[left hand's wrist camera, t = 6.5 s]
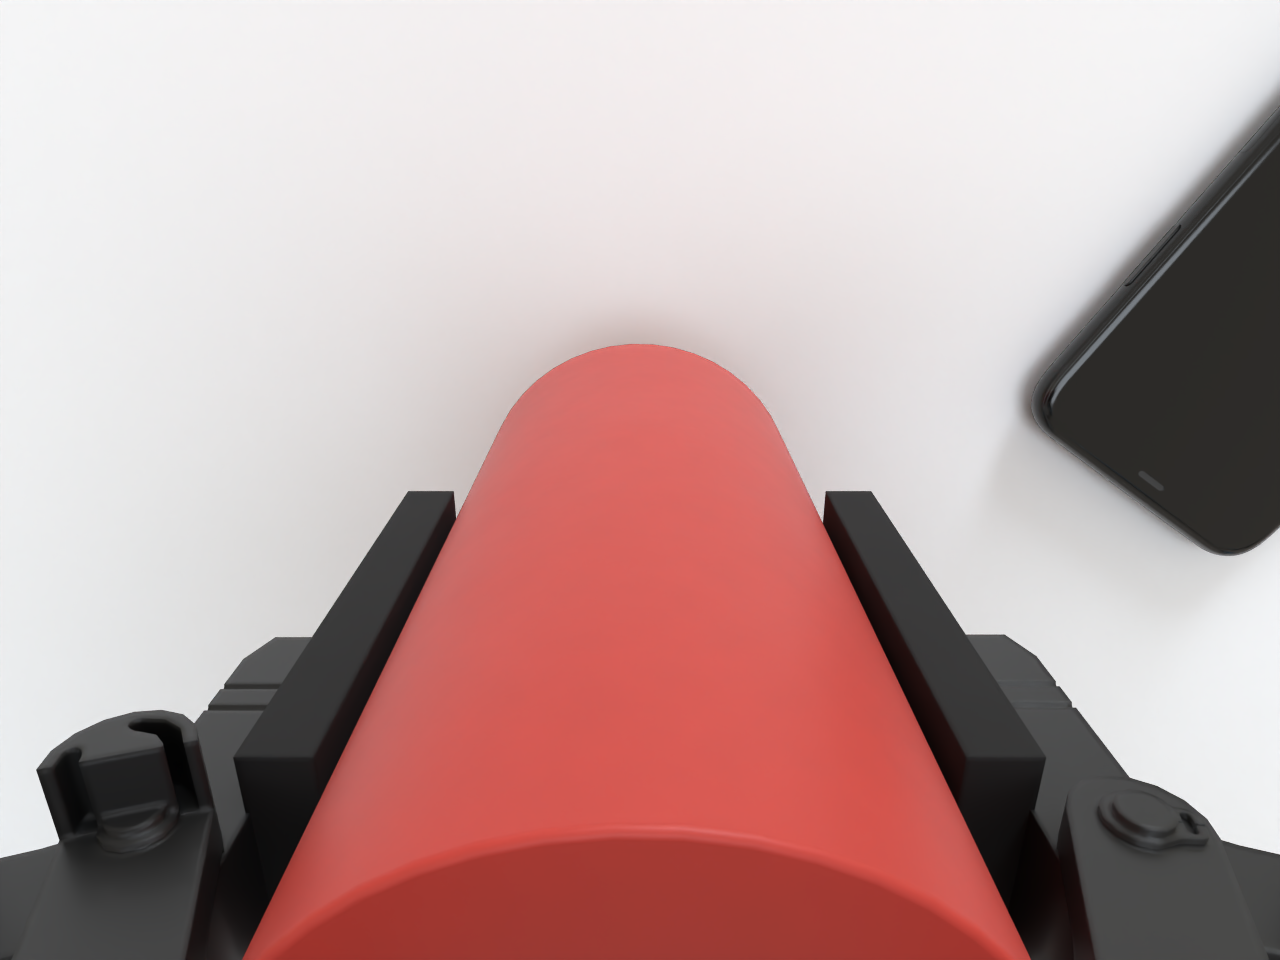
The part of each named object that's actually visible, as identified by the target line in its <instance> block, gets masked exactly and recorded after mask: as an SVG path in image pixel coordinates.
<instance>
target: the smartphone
mask: <svg viewBox="0 0 1280 960" xmlns="http://www.w3.org/2000/svg"><path fill="white" fill-rule="evenodd" d="M1031 408H1032V413H1033V417H1034V419H1035V421H1036V423H1037V424H1038V425H1039V427H1040V428H1041V429H1042V430H1043V431H1044V432H1045V433H1046V434H1047V435H1048V436H1050V437H1051V438H1052V439H1053V440H1055V441H1056V442H1057V443H1059V444H1060V445H1061V446H1063V447H1064V448H1065V449H1067V450H1068V451H1069V452H1071V453H1072V454H1073V455H1075V456H1076V457H1077V458H1079V459H1080V460H1081V461H1083V462H1084V463H1086V464H1087V465H1088V466H1090V467H1091V468H1092V469H1094V470H1095V471H1096V472H1098V473H1099V474H1100V475H1102V476H1103V477H1104V478H1106V479H1107V480H1108V481H1110V482H1111V483H1113V484H1114V485H1115V486H1117V487H1118V488H1119V489H1121V490H1122V491H1123V492H1125V493H1126V494H1127V495H1129V496H1130V497H1132V498H1133V499H1134V500H1136V501H1137V502H1138V503H1140V504H1141V505H1142V506H1144V507H1145V508H1146V509H1148V510H1149V511H1151V512H1152V513H1153V514H1155V515H1156V516H1157V517H1159V518H1160V519H1161V520H1163V521H1164V522H1166V523H1167V524H1168V525H1170V526H1171V527H1172V528H1174V529H1175V530H1176V531H1178V532H1179V533H1181V534H1182V535H1183V536H1185V537H1186V538H1188V539H1189V540H1190V541H1192V542H1193V543H1194V544H1196V545H1197V546H1199V547H1200V548H1202V549H1204V550H1205V551H1208V552H1210V553H1213V554H1216V555H1221V556H1234V555H1239V554H1243V553H1245V552H1248V551H1250V550H1252V549H1254V548H1255V547H1257V546H1258V545H1260V544H1261V543H1262V542H1264V541H1265V540H1266V539H1267V538H1269V537H1270V536H1271V535H1272V534H1273V533H1274V532H1275V531H1276V530H1277V529H1278V528H1279V527H1280V106H1279V107H1278V108H1277V110H1276V111H1275V112H1274V113H1273V114H1272V115H1271V116H1270V118H1269V119H1268V120H1267V121H1266V122H1265V123H1264V124H1263V125H1262V127H1261V128H1260V129H1259V130H1258V131H1257V132H1256V133H1255V135H1254V136H1253V137H1252V138H1251V139H1250V140H1249V141H1248V142H1247V144H1246V145H1245V146H1244V147H1243V148H1242V149H1241V150H1240V152H1239V153H1238V154H1237V155H1236V156H1235V157H1234V158H1233V159H1232V161H1231V162H1230V163H1229V164H1228V165H1227V166H1226V167H1225V169H1224V170H1223V171H1222V172H1221V173H1220V174H1219V175H1218V176H1217V178H1216V179H1215V180H1214V181H1213V182H1212V183H1211V184H1210V186H1209V187H1208V188H1207V189H1206V190H1205V191H1204V192H1203V193H1202V195H1201V196H1200V197H1199V198H1198V199H1197V200H1196V201H1195V203H1194V204H1193V205H1192V206H1191V207H1190V208H1189V209H1188V210H1187V212H1186V213H1185V214H1184V215H1183V216H1182V217H1181V218H1180V220H1179V221H1178V222H1177V223H1176V224H1175V225H1174V226H1173V227H1172V228H1171V229H1170V230H1169V232H1168V233H1167V234H1166V235H1165V236H1164V237H1163V238H1162V239H1161V241H1160V242H1159V243H1158V244H1157V245H1156V246H1155V247H1154V249H1153V250H1152V251H1151V252H1150V253H1149V254H1148V255H1147V256H1146V258H1145V259H1144V260H1143V261H1142V262H1141V263H1140V264H1139V266H1138V267H1137V268H1136V269H1135V270H1134V271H1133V272H1132V273H1131V275H1130V276H1129V277H1128V278H1127V279H1126V280H1125V282H1124V283H1123V284H1122V285H1121V286H1120V288H1119V289H1118V290H1117V291H1116V292H1115V293H1114V294H1113V296H1112V297H1111V298H1110V299H1109V300H1108V301H1107V302H1106V303H1105V305H1104V306H1103V307H1102V308H1101V309H1100V310H1099V311H1098V313H1097V314H1096V315H1095V316H1094V317H1093V318H1092V319H1091V320H1090V322H1089V323H1088V324H1087V325H1086V326H1085V327H1084V328H1083V330H1082V331H1081V332H1080V333H1079V334H1078V335H1077V336H1076V337H1075V339H1074V340H1073V341H1072V342H1071V343H1070V344H1069V345H1068V347H1067V348H1066V349H1065V350H1064V351H1063V352H1062V353H1061V354H1060V356H1059V357H1058V358H1057V359H1056V360H1055V361H1054V362H1053V364H1052V365H1051V366H1050V367H1049V368H1048V369H1047V371H1046V372H1045V373H1044V375H1043V376H1042V377H1041V379H1040V380H1039V382H1038V384H1037V385H1036V387H1035V390H1034V392H1033V396H1032V401H1031Z"/></svg>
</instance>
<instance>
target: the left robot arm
mask: <svg viewBox="0 0 1280 960" xmlns="http://www.w3.org/2000/svg"><path fill="white" fill-rule="evenodd" d="M455 520H456V512H455V501H454V491H408V493H407V494H406V496H405V497H404V499H403V500H402V502H401V503H400V505H399V506H398V508H397V509H396V511H395V512H394V514H393V515H392V517H391V518H390V520H389V521H388V523H387V524H386V526H385V527H384V529H383V530H382V532H381V533H380V535H379V537H378V538H377V540H376V541H375V543H374V544H373V546H372V547H371V549H370V550H369V552H368V553H367V555H366V556H365V558H364V559H363V561H362V562H361V564H360V565H359V567H358V568H357V570H356V571H355V573H354V574H353V576H352V577H351V579H350V581H349V582H348V584H347V585H346V587H345V588H344V590H343V591H342V593H341V594H340V596H339V597H338V599H337V600H336V602H335V603H334V605H333V606H332V608H331V609H330V611H329V612H328V614H327V615H326V617H325V618H324V620H323V621H322V623H321V625H320V626H319V628H318V629H317V631H316V632H315V634H314V635H313V637H275V638H274V639H272V640H271V641H269V642H268V643H266V644H265V645H263V646H262V647H261V648H259V649H258V650H256V651H255V652H253V653H252V654H250V655H249V656H247V657H246V658H244V659H243V660H242V662H241V663H240V664H239V666H238V667H237V668H236V670H235V671H234V672H233V674H232V675H231V676H230V678H229V679H228V680H227V681H226V683H225V684H224V689H220V691H219V692H218V693H217V695H216V696H215V697H214V698H213V700H212V701H211V702H210V704H209V705H208V711H204V712H203V713H202V714H201V715H200V717H199V718H198V719H197V721H196V722H195V723H193V722H192V721H191V720H189V719H188V718H187V717H186V716H184V715H183V714H179V713H174V712H169V711H164V710H155V711H141V712H132V713H129V714H125V715H121V716H117V717H114V718H110V719H106V720H103V721H101V722H99V723H97V724H95V725H92V726H90V727H88V728H86V729H84V730H82V731H79V732H77V733H75V734H74V735H72V736H71V737H70V738H68V739H67V740H65V741H64V742H63V743H61V744H60V745H59V746H57V747H56V748H54V749H53V750H52V751H51V752H50V753H49V754H48V755H47V757H46V758H45V759H44V761H43V762H42V763H41V764H40V766H39V767H38V768H37V769H36V771H37V774H38V777H39V780H40V783H41V786H42V789H43V792H44V795H45V798H46V801H47V804H48V807H49V810H50V813H51V816H52V819H53V822H54V825H55V828H56V831H57V834H58V837H59V840H60V841H59V843H58V844H56V845H53V846H49V847H46V848H43V849H39V850H34V851H30V852H25V853H21V854H17V855H12V856H8V857H4V858H0V960H242V959H243V957H244V955H245V953H246V951H247V949H248V946H249V944H250V942H251V940H252V938H253V936H254V934H255V932H256V930H257V928H258V926H259V924H260V922H261V920H262V918H263V916H264V914H265V911H266V909H267V907H268V905H269V903H270V901H271V899H272V897H273V895H274V893H275V891H276V889H277V887H278V885H279V883H280V881H281V879H282V876H283V874H284V872H285V870H286V868H287V866H288V864H289V862H290V860H291V858H292V856H293V854H294V852H295V850H296V848H297V846H298V844H299V842H300V839H301V837H302V835H303V833H304V831H305V829H306V827H307V825H308V823H309V821H310V819H311V817H312V815H313V813H314V811H315V809H316V807H317V804H318V802H319V800H320V798H321V796H322V794H323V792H324V790H325V788H326V786H327V784H328V782H329V780H330V778H331V776H332V774H333V772H334V769H335V767H336V765H337V763H338V761H339V759H340V757H341V755H342V753H343V751H344V749H345V747H346V745H347V743H348V741H349V739H350V737H351V734H352V732H353V730H354V728H355V726H356V724H357V722H358V720H359V718H360V716H361V714H362V712H363V710H364V708H365V706H366V704H367V702H368V700H369V697H370V695H371V693H372V691H373V689H374V687H375V685H376V683H377V681H378V679H379V677H380V675H381V673H382V671H383V669H384V667H385V665H386V662H387V660H388V658H389V656H390V654H391V652H392V650H393V648H394V646H395V644H396V642H397V640H398V638H399V636H400V634H401V632H402V630H403V627H404V625H405V623H406V621H407V619H408V617H409V615H410V613H411V611H412V609H413V607H414V605H415V603H416V601H417V599H418V597H419V595H420V592H421V590H422V588H423V586H424V584H425V582H426V580H427V578H428V576H429V574H430V572H431V570H432V568H433V566H434V564H435V562H436V560H437V558H438V555H439V553H440V551H441V549H442V547H443V545H444V543H445V541H446V539H447V537H448V535H449V533H450V531H451V529H452V527H453V525H454V523H455ZM823 525H824V527H825V529H826V531H827V533H828V535H829V538H830V540H831V542H832V544H833V546H834V548H835V550H836V552H837V554H838V556H839V559H840V561H841V563H842V565H843V567H844V569H845V571H846V573H847V575H848V577H849V579H850V582H851V584H852V586H853V588H854V590H855V592H856V594H857V596H858V598H859V600H860V603H861V605H862V607H863V609H864V611H865V613H866V615H867V617H868V619H869V621H870V623H871V626H872V628H873V630H874V632H875V634H876V636H877V638H878V640H879V642H880V644H881V647H882V649H883V651H884V653H885V655H886V657H887V659H888V661H889V663H890V665H891V667H892V670H893V672H894V674H895V676H896V678H897V680H898V682H899V684H900V686H901V688H902V690H903V693H904V695H905V697H906V699H907V701H908V703H909V705H910V707H911V709H912V711H913V714H914V716H915V718H916V720H917V722H918V724H919V726H920V728H921V730H922V732H923V734H924V737H925V739H926V741H927V743H928V745H929V747H930V749H931V751H932V753H933V755H934V758H935V760H936V762H937V764H938V766H939V768H940V770H941V772H942V774H943V776H944V778H945V781H946V783H947V785H948V787H949V789H950V791H951V793H952V795H953V797H954V799H955V802H956V804H957V806H958V808H959V810H960V812H961V814H962V816H963V818H964V820H965V822H966V825H967V827H968V829H969V831H970V833H971V835H972V837H973V839H974V841H975V843H976V845H977V848H978V850H979V852H980V854H981V856H982V858H983V860H984V862H985V864H986V866H987V869H988V871H989V873H990V875H991V877H992V879H993V881H994V883H995V885H996V887H997V889H998V892H999V894H1000V896H1001V898H1002V900H1003V902H1004V904H1005V906H1006V908H1007V910H1008V913H1009V915H1010V917H1011V919H1012V921H1013V923H1014V925H1015V927H1016V929H1017V931H1018V933H1019V936H1020V938H1021V940H1022V942H1023V944H1024V946H1025V948H1026V950H1027V952H1028V954H1029V956H1030V959H1031V960H1280V855H1279V854H1275V853H1270V852H1266V851H1261V850H1257V849H1253V848H1248V847H1244V846H1239V845H1236V844H1233V843H1229V842H1226V841H1222V840H1221V839H1220V838H1219V836H1218V835H1217V833H1216V832H1215V830H1214V829H1213V827H1212V826H1211V824H1210V823H1209V821H1208V820H1207V819H1206V818H1205V817H1204V816H1203V815H1201V814H1200V813H1199V812H1198V811H1197V810H1195V809H1194V808H1193V807H1192V806H1191V805H1189V804H1188V803H1187V802H1186V801H1184V800H1183V799H1181V798H1179V797H1177V796H1175V795H1173V794H1171V793H1169V792H1167V791H1165V790H1164V789H1162V788H1160V787H1158V786H1155V785H1152V784H1149V783H1145V782H1142V781H1139V780H1135V779H1132V778H1130V777H1129V776H1128V775H1127V774H1126V772H1125V771H1124V770H1123V768H1122V767H1121V766H1120V764H1119V763H1118V762H1117V761H1116V759H1115V758H1114V757H1113V755H1112V754H1111V753H1110V751H1109V750H1108V749H1107V748H1106V746H1105V745H1104V744H1103V742H1102V741H1101V740H1100V738H1099V737H1098V736H1097V735H1096V733H1095V732H1094V731H1093V729H1092V728H1091V727H1090V725H1089V724H1088V723H1087V722H1086V720H1085V719H1084V718H1083V716H1082V715H1081V714H1080V712H1079V711H1078V710H1077V709H1076V708H1072V702H1071V701H1070V699H1069V698H1068V697H1067V695H1066V694H1065V693H1064V692H1063V690H1062V689H1061V688H1060V686H1056V681H1055V680H1054V679H1053V677H1052V676H1051V675H1050V673H1049V672H1048V671H1047V669H1046V668H1045V667H1044V666H1043V664H1042V663H1041V662H1040V660H1039V659H1038V658H1037V656H1035V655H1034V654H1032V653H1031V652H1029V651H1028V650H1026V649H1025V648H1023V647H1022V646H1020V645H1019V644H1017V643H1016V642H1015V641H1013V640H1012V639H1010V638H1009V637H1007V636H1006V635H966V634H965V633H964V631H963V630H962V628H961V627H960V625H959V624H958V622H957V621H956V619H955V618H954V616H953V615H952V613H951V612H950V610H949V609H948V607H947V606H946V604H945V603H944V601H943V600H942V598H941V597H940V595H939V594H938V592H937V590H936V589H935V587H934V586H933V584H932V583H931V581H930V580H929V578H928V577H927V575H926V574H925V572H924V571H923V569H922V568H921V566H920V565H919V563H918V562H917V560H916V559H915V557H914V556H913V554H912V553H911V551H910V549H909V548H908V546H907V545H906V543H905V542H904V540H903V539H902V537H901V536H900V534H899V533H898V531H897V530H896V528H895V527H894V525H893V524H892V522H891V521H890V519H889V518H888V516H887V515H886V513H885V512H884V510H883V509H882V507H881V505H880V504H879V502H878V501H877V499H876V498H875V496H874V495H873V493H872V492H871V491H826V495H825V506H824V517H823Z"/></svg>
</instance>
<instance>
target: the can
mask: <svg viewBox="0 0 1280 960" xmlns="http://www.w3.org/2000/svg"><path fill="white" fill-rule="evenodd" d="M242 960H1031V959H1030V956H1029V954H1028V952H1027V950H1026V948H1025V946H1024V944H1023V942H1022V940H1021V938H1020V936H1019V933H1018V931H1017V929H1016V927H1015V925H1014V923H1013V921H1012V919H1011V917H1010V915H1009V913H1008V910H1007V908H1006V906H1005V904H1004V902H1003V900H1002V898H1001V896H1000V894H999V892H998V889H997V887H996V885H995V883H994V881H993V879H992V877H991V875H990V873H989V871H988V869H987V866H986V864H985V862H984V860H983V858H982V856H981V854H980V852H979V850H978V848H977V845H976V843H975V841H974V839H973V837H972V835H971V833H970V831H969V829H968V827H967V825H966V822H965V820H964V818H963V816H962V814H961V812H960V810H959V808H958V806H957V804H956V802H955V799H954V797H953V795H952V793H951V791H950V789H949V787H948V785H947V783H946V781H945V778H944V776H943V774H942V772H941V770H940V768H939V766H938V764H937V762H936V760H935V758H934V755H933V753H932V751H931V749H930V747H929V745H928V743H927V741H926V739H925V737H924V734H923V732H922V730H921V728H920V726H919V724H918V722H917V720H916V718H915V716H914V714H913V711H912V709H911V707H910V705H909V703H908V701H907V699H906V697H905V695H904V693H903V690H902V688H901V686H900V684H899V682H898V680H897V678H896V676H895V674H894V672H893V670H892V667H891V665H890V663H889V661H888V659H887V657H886V655H885V653H884V651H883V649H882V647H881V644H880V642H879V640H878V638H877V636H876V634H875V632H874V630H873V628H872V626H871V623H870V621H869V619H868V617H867V615H866V613H865V611H864V609H863V607H862V605H861V603H860V600H859V598H858V596H857V594H856V592H855V590H854V588H853V586H852V584H851V582H850V579H849V577H848V575H847V573H846V571H845V569H844V567H843V565H842V563H841V561H840V559H839V556H838V554H837V552H836V550H835V548H834V546H833V544H832V542H831V540H830V538H829V535H828V533H827V531H826V529H825V527H824V525H823V523H822V521H821V519H820V517H819V515H818V512H817V510H816V508H815V506H814V504H813V502H812V500H811V498H810V496H809V494H808V492H807V489H806V487H805V485H804V483H803V481H802V479H801V477H800V475H799V473H798V471H797V468H796V466H795V464H794V462H793V460H792V458H791V456H790V454H789V452H788V450H787V448H786V445H785V443H784V441H783V439H782V437H781V435H780V433H779V431H778V429H777V427H776V425H775V423H774V421H773V419H772V417H771V415H770V414H769V412H768V411H767V410H766V408H765V407H764V405H763V404H762V403H761V401H760V400H759V399H758V398H757V396H756V395H755V394H754V393H753V392H752V391H751V390H750V389H749V388H748V387H747V386H746V385H745V384H744V383H743V382H741V381H740V380H739V379H738V378H736V377H735V376H734V375H733V374H732V373H730V372H729V371H727V370H725V369H724V368H722V367H720V366H719V365H717V364H715V363H714V362H712V361H710V360H707V359H705V358H703V357H701V356H698V355H696V354H694V353H690V352H687V351H683V350H680V349H676V348H672V347H666V346H659V345H649V344H628V345H619V346H610V347H606V348H602V349H598V350H594V351H590V352H587V353H585V354H582V355H580V356H577V357H574V358H572V359H570V360H568V361H566V362H564V363H563V364H561V365H559V366H557V367H555V368H553V369H552V370H551V371H549V372H548V373H547V374H545V375H544V376H543V377H541V378H540V379H538V380H537V381H536V382H535V383H534V384H533V385H532V386H531V387H530V388H529V389H528V390H527V391H526V392H525V393H524V394H523V395H522V396H521V397H520V399H519V400H518V401H517V402H516V404H515V405H514V406H513V408H512V409H511V410H510V412H509V414H508V415H507V417H506V419H505V421H504V422H503V424H502V426H501V428H500V430H499V432H498V434H497V436H496V438H495V440H494V442H493V444H492V446H491V448H490V450H489V453H488V455H487V457H486V459H485V461H484V463H483V465H482V467H481V469H480V471H479V473H478V475H477V477H476V479H475V481H474V483H473V485H472V488H471V490H470V492H469V494H468V496H467V498H466V500H465V502H464V504H463V506H462V508H461V510H460V512H459V514H458V516H457V518H456V520H455V523H454V525H453V527H452V529H451V531H450V533H449V535H448V537H447V539H446V541H445V543H444V545H443V547H442V549H441V551H440V553H439V555H438V558H437V560H436V562H435V564H434V566H433V568H432V570H431V572H430V574H429V576H428V578H427V580H426V582H425V584H424V586H423V588H422V590H421V592H420V595H419V597H418V599H417V601H416V603H415V605H414V607H413V609H412V611H411V613H410V615H409V617H408V619H407V621H406V623H405V625H404V627H403V630H402V632H401V634H400V636H399V638H398V640H397V642H396V644H395V646H394V648H393V650H392V652H391V654H390V656H389V658H388V660H387V662H386V665H385V667H384V669H383V671H382V673H381V675H380V677H379V679H378V681H377V683H376V685H375V687H374V689H373V691H372V693H371V695H370V697H369V700H368V702H367V704H366V706H365V708H364V710H363V712H362V714H361V716H360V718H359V720H358V722H357V724H356V726H355V728H354V730H353V732H352V734H351V737H350V739H349V741H348V743H347V745H346V747H345V749H344V751H343V753H342V755H341V757H340V759H339V761H338V763H337V765H336V767H335V769H334V772H333V774H332V776H331V778H330V780H329V782H328V784H327V786H326V788H325V790H324V792H323V794H322V796H321V798H320V800H319V802H318V804H317V807H316V809H315V811H314V813H313V815H312V817H311V819H310V821H309V823H308V825H307V827H306V829H305V831H304V833H303V835H302V837H301V839H300V842H299V844H298V846H297V848H296V850H295V852H294V854H293V856H292V858H291V860H290V862H289V864H288V866H287V868H286V870H285V872H284V874H283V876H282V879H281V881H280V883H279V885H278V887H277V889H276V891H275V893H274V895H273V897H272V899H271V901H270V903H269V905H268V907H267V909H266V911H265V914H264V916H263V918H262V920H261V922H260V924H259V926H258V928H257V930H256V932H255V934H254V936H253V938H252V940H251V942H250V944H249V946H248V949H247V951H246V953H245V955H244V957H243V959H242Z"/></svg>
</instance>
